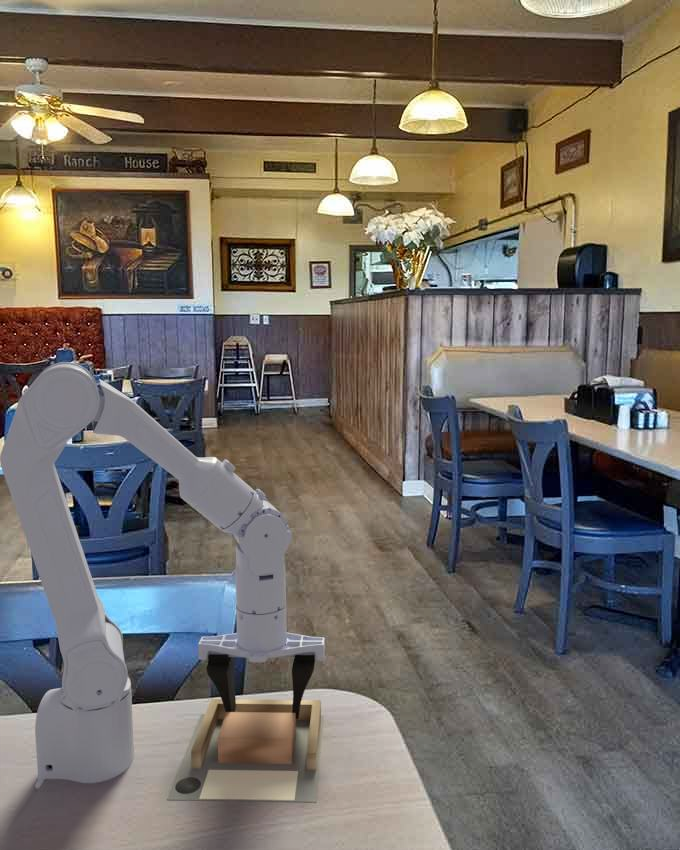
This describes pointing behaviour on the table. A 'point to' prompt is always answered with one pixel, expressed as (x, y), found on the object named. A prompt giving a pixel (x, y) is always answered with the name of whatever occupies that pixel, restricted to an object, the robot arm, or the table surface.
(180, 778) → the floor board
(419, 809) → the table surface
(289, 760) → the terracotta slab
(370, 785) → the table surface
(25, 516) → the robot arm
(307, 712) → the oak cubby
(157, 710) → the table surface
